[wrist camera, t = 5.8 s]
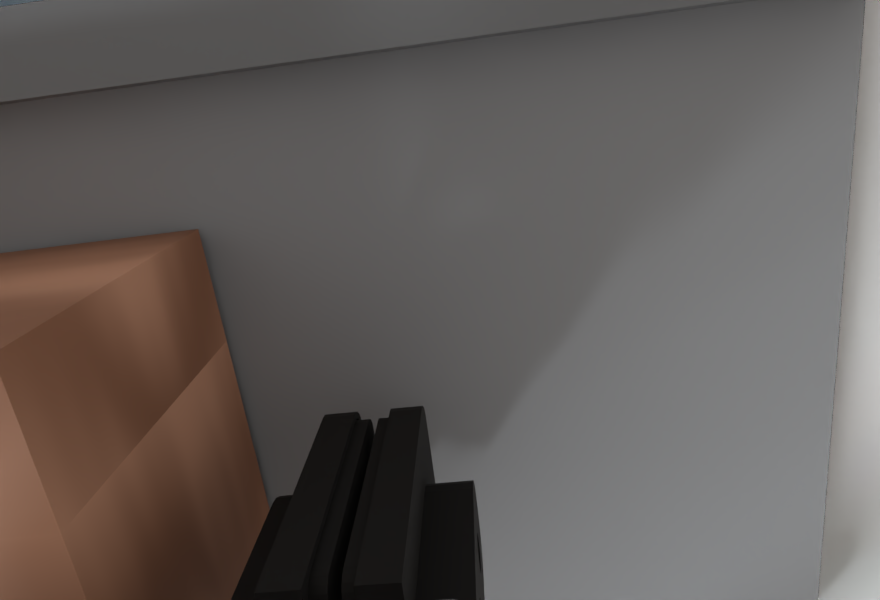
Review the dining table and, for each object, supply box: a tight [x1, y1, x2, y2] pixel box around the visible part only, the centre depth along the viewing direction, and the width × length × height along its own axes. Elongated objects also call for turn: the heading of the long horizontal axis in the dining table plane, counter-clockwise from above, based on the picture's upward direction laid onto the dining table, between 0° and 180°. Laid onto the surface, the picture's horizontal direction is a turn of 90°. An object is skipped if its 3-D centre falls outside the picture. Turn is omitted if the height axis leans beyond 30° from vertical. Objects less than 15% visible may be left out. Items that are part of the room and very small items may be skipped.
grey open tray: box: [0, 0, 865, 600], centre depth 10 cm, size 16×22×9 cm
